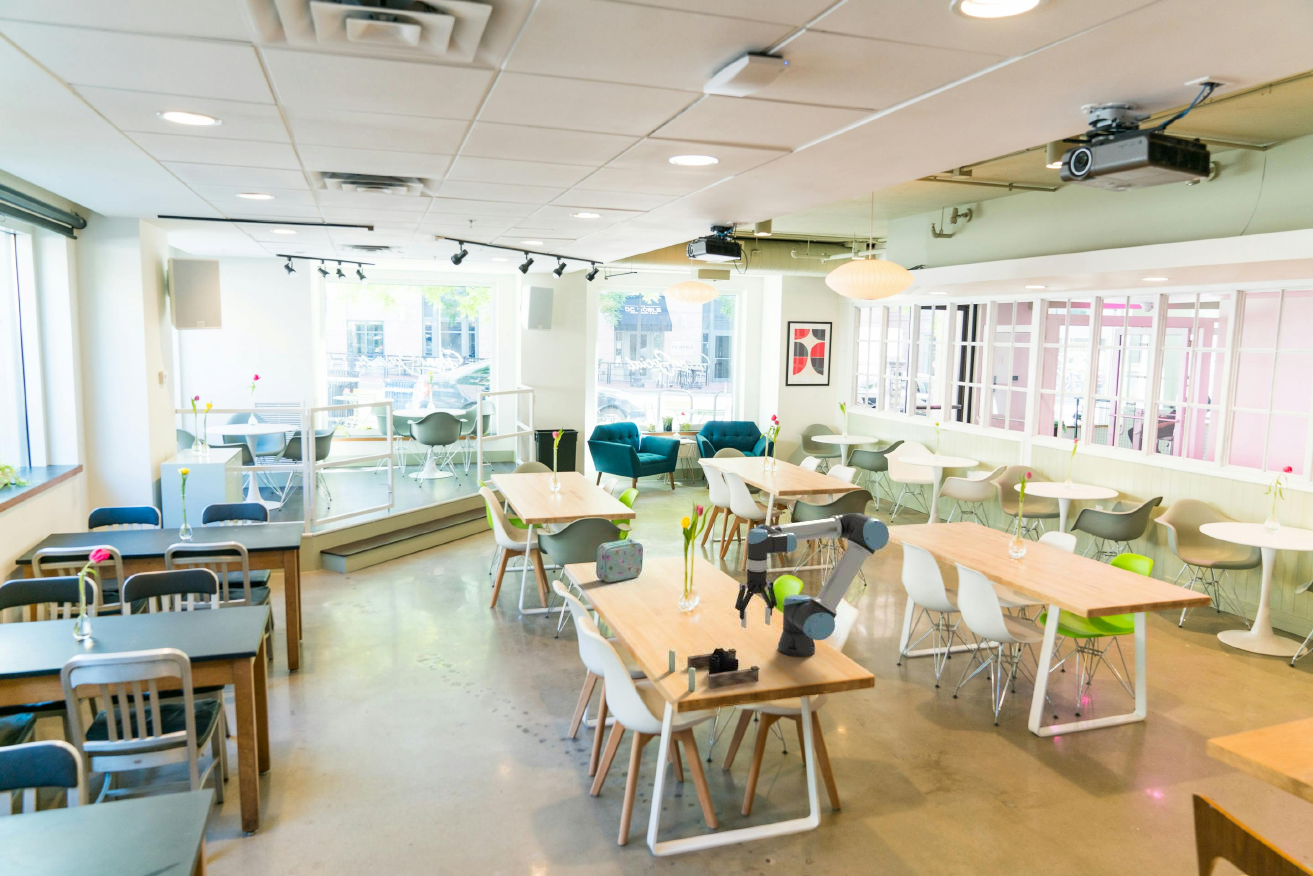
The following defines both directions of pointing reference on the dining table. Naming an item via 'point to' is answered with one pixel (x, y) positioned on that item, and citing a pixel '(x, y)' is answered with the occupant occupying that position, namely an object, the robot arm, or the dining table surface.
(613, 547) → the lunch box
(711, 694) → the dining table surface
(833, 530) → the robot arm
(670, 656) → the posts
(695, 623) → the dining table surface
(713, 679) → the chute
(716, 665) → the film camera
